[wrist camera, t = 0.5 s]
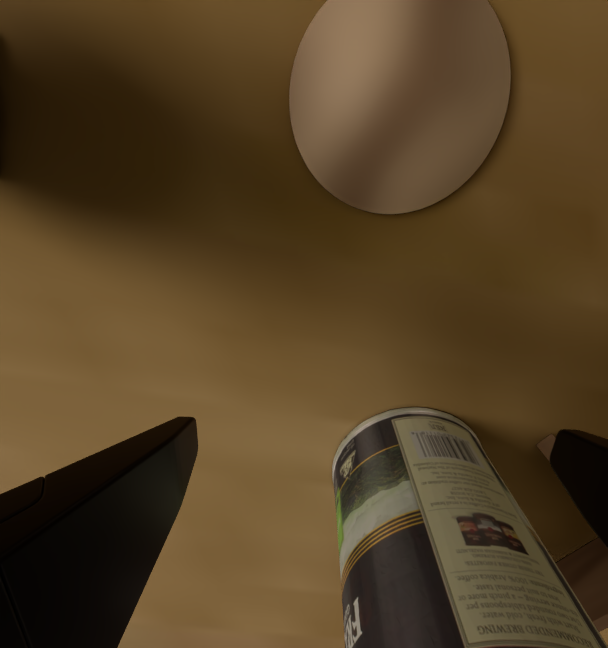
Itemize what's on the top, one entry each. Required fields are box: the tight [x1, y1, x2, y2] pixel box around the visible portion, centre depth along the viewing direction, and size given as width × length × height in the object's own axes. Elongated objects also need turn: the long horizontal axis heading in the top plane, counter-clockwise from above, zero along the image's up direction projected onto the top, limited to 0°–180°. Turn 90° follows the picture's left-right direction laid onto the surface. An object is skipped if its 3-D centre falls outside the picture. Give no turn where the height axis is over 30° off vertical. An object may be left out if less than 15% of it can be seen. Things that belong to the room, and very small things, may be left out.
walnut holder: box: [536, 434, 608, 632], centre depth 26 cm, size 11×16×4 cm
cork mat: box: [289, 0, 511, 214], centre depth 17 cm, size 10×10×1 cm
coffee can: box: [332, 407, 608, 648], centre depth 19 cm, size 10×10×14 cm
